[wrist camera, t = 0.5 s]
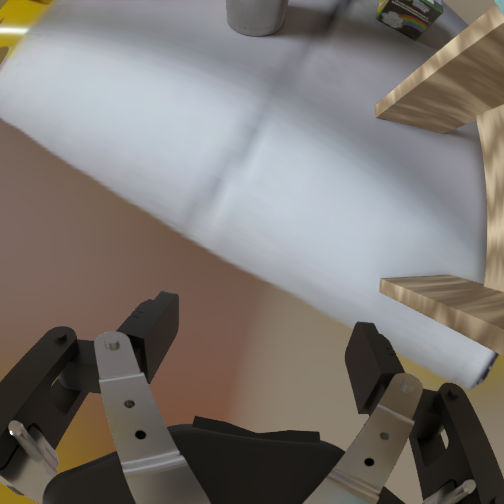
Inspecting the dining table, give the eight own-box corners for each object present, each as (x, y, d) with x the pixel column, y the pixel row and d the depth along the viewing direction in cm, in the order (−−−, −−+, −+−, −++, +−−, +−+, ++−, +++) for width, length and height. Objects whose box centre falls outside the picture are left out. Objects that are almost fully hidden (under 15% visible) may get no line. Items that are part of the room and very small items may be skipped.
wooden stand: (374, 106, 35) (530, -21, 1) (441, 123, 35) (590, 58, 1) (379, 292, 37) (583, 402, 3) (446, 286, 38) (614, 347, 4)
